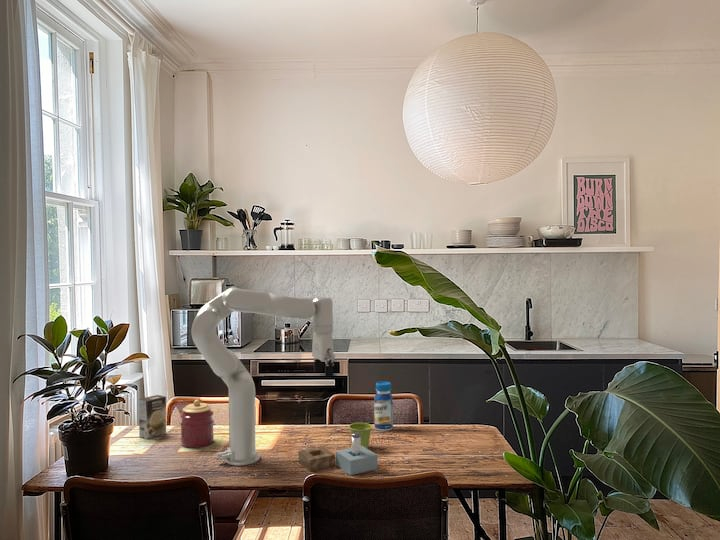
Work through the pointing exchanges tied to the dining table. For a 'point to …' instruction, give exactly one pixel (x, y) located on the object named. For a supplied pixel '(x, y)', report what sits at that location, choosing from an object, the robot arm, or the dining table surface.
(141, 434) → the coffee box
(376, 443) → the dining table surface
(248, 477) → the dining table surface
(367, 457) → the dock block
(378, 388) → the beverage bottle
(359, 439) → the pin
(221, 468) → the dining table surface
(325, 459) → the mount block
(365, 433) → the plant pot
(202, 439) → the canister
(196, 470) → the dining table surface
